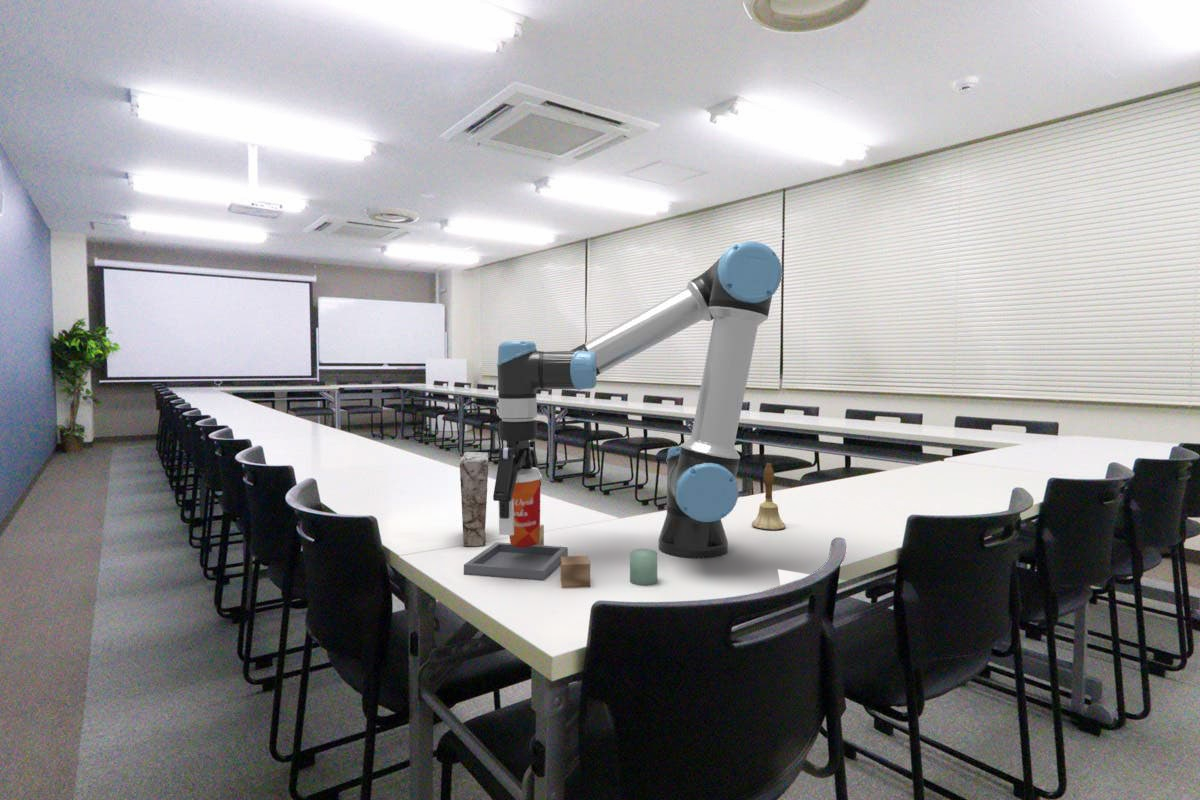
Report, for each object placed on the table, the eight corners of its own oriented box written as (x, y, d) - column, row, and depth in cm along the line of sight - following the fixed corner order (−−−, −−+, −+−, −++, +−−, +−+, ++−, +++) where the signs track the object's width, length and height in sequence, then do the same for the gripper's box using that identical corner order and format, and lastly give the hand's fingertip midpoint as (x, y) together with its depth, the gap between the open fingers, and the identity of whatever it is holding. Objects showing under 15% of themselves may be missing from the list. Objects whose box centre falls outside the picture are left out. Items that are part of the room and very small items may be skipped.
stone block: (492, 546, 141) (492, 457, 140) (460, 548, 139) (459, 458, 138) (487, 531, 154) (487, 450, 153) (458, 533, 152) (457, 451, 151)
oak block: (543, 546, 141) (543, 524, 141) (535, 551, 137) (535, 529, 137) (520, 543, 143) (520, 522, 143) (511, 548, 140) (511, 526, 139)
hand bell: (779, 531, 155) (780, 466, 154) (747, 526, 159) (747, 464, 158) (789, 524, 161) (790, 462, 161) (758, 520, 166) (759, 460, 165)
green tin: (658, 581, 118) (659, 549, 118) (655, 590, 113) (655, 557, 113) (632, 579, 119) (632, 547, 119) (627, 588, 114) (627, 555, 114)
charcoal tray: (567, 558, 132) (567, 547, 132) (543, 583, 116) (543, 571, 116) (496, 553, 135) (496, 542, 135) (463, 577, 120) (463, 564, 120)
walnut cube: (587, 582, 118) (587, 555, 117) (590, 591, 113) (590, 563, 112) (560, 583, 117) (560, 556, 117) (562, 592, 112) (562, 564, 112)
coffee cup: (497, 546, 127) (492, 474, 125) (517, 533, 134) (514, 464, 132) (533, 551, 124) (530, 476, 122) (552, 537, 131) (549, 467, 129)
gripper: (521, 414, 137) (522, 511, 138) (473, 424, 113) (475, 541, 114) (554, 415, 136) (555, 512, 137) (512, 425, 111) (514, 543, 112)
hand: (519, 526), depth 125 cm, fingers open, 13 cm apart
